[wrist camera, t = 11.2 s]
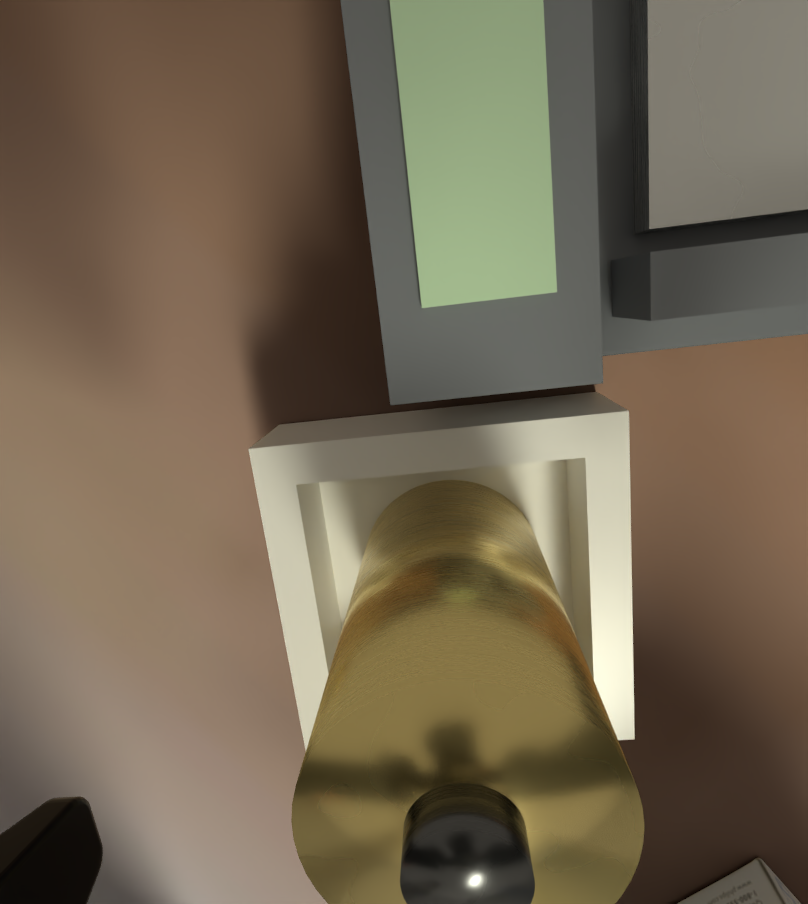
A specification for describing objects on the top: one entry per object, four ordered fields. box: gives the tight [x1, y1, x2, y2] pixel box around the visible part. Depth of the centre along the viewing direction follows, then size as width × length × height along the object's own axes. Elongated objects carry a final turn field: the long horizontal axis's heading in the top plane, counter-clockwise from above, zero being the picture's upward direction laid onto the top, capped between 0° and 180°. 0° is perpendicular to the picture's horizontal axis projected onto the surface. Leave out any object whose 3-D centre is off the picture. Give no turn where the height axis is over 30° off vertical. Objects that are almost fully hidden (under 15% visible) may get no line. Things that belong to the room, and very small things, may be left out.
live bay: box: [249, 392, 635, 750], centre depth 13 cm, size 7×7×2 cm
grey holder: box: [340, 0, 808, 405], centre depth 9 cm, size 11×9×5 cm
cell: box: [292, 480, 644, 904], centre depth 10 cm, size 4×4×8 cm
